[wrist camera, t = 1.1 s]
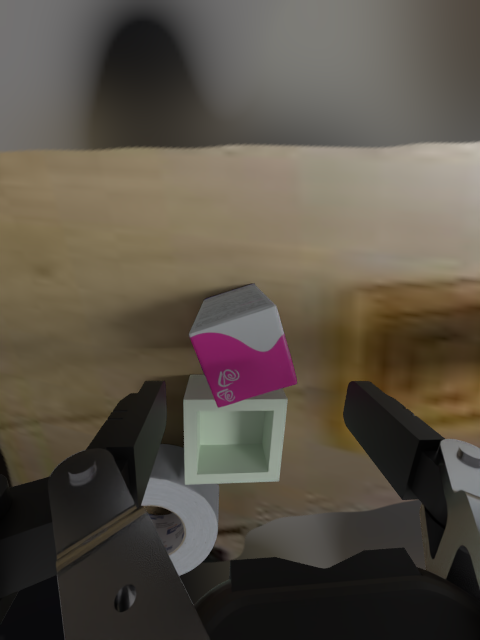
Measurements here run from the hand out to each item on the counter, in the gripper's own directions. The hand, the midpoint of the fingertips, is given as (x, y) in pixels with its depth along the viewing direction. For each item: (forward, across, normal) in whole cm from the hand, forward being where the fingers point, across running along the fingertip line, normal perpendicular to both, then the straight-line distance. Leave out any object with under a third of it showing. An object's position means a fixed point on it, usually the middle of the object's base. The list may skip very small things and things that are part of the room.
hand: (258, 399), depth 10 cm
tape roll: (+16, +9, +24) cm, 31 cm away
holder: (+16, 0, +12) cm, 20 cm away
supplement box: (+16, 0, 0) cm, 16 cm away
